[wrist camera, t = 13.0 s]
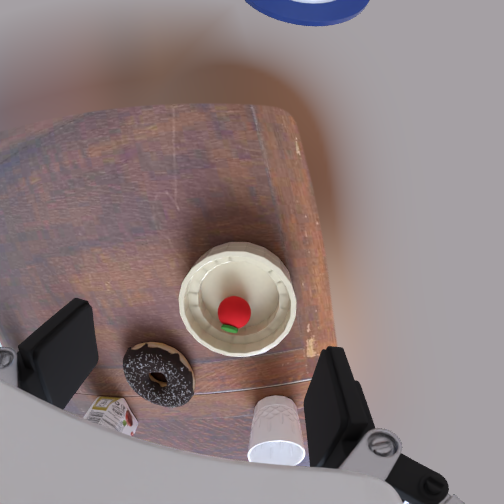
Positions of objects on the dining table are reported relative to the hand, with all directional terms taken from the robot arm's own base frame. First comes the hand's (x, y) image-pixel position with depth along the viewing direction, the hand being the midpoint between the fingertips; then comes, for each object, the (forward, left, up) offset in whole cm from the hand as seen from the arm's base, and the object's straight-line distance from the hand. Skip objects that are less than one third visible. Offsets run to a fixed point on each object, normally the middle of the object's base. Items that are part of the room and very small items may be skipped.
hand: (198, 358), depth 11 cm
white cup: (+26, -13, -26) cm, 39 cm away
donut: (+10, -23, -26) cm, 36 cm away
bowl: (+6, -5, -26) cm, 27 cm away
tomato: (+6, -5, -24) cm, 25 cm away
